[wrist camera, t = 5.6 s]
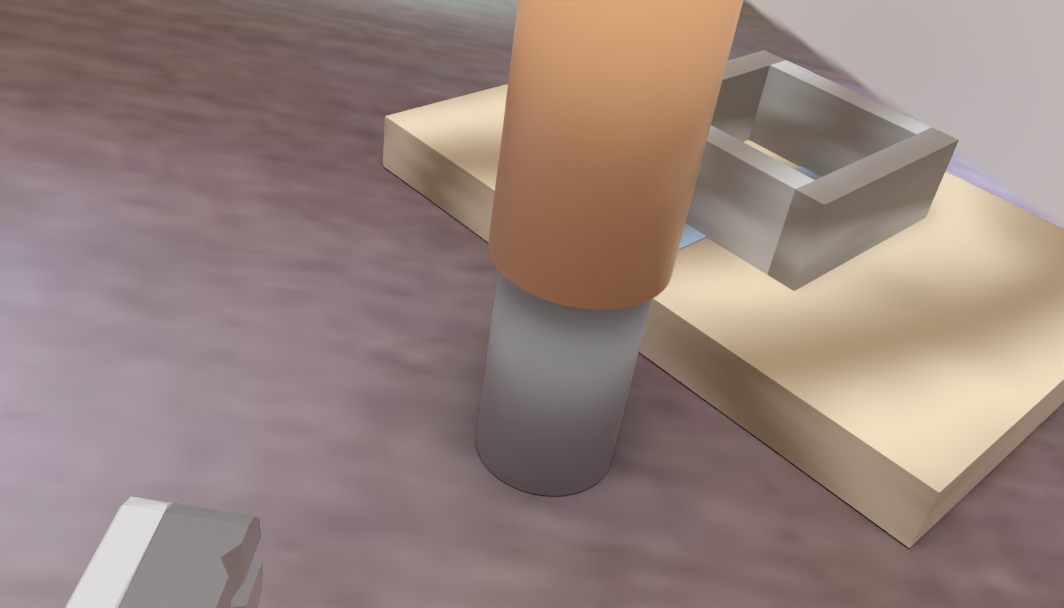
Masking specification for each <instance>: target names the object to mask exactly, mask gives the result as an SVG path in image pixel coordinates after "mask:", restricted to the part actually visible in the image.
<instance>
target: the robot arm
mask: <svg viewBox="0 0 1064 608" xmlns="http://www.w3.org/2000/svg"><path fill="white" fill-rule="evenodd" d="M260 538H261V531H260V520H259V518H257V517H253V516H247V515H241V514H235V513H229V512H224V511H218V510H212V509H206V508H200V507H194V506H188V505H183V504H177V503H170V502H163V501H157V500H151V499H144V498H138V497H130V498H129V499H128V500H127V501H126V502H125V503H124V504H123V505H122V506H121V507H120V508H119V510H118V512H117V514H116V515H115V517H114V519H113V521H112V523H111V525H110V526H109V528H108V530H107V532H106V534H105V536H104V537H103V539H102V541H101V543H100V545H99V547H98V548H97V550H96V552H95V554H94V556H93V558H92V559H91V561H90V563H89V565H88V567H87V569H86V570H85V572H84V574H83V576H82V578H81V580H80V581H79V583H78V585H77V587H76V589H75V591H74V592H73V594H72V596H71V598H70V600H69V602H68V603H67V605H66V607H65V608H258V604H259V599H260V595H261V587H262V576H263V571H262V561H261V560H260V559H259V557H258V556H257V555H256V554H255V552H256V549H257V546H258V543H259V541H260Z"/></svg>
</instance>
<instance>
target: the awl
mask: <svg viewBox="0 0 1064 608" xmlns="http://www.w3.org/2000/svg"><path fill="white" fill-rule="evenodd" d="M742 3H743V0H518V8H517V16H516V24H515V32H514V40H513V48H512V56H511V64H510V72H509V80H508V88H507V96H506V104H505V113H504V121H503V129H502V137H501V145H500V153H499V161H498V169H497V177H496V185H495V193H494V201H493V209H492V217H491V225H490V234H489V242H488V249H489V253H490V256H491V259H492V261H493V263H494V264H495V266H496V267H497V269H498V275H497V283H496V290H495V298H494V305H493V313H492V320H491V328H490V335H489V343H488V350H487V358H486V365H485V373H484V380H483V388H482V395H481V403H480V410H479V418H478V425H477V433H476V446H477V450H478V453H479V456H480V458H481V460H482V462H483V463H484V464H485V466H486V467H487V468H488V469H489V470H490V471H491V472H492V473H493V474H494V475H495V476H496V477H497V478H499V479H500V480H502V481H503V482H505V483H506V484H508V485H510V486H512V487H514V488H517V489H519V490H522V491H525V492H528V493H532V494H538V495H545V496H563V495H570V494H574V493H578V492H581V491H584V490H586V489H588V488H590V487H592V486H594V485H595V484H596V483H598V482H599V481H600V480H601V479H602V478H603V477H604V476H605V475H606V473H607V472H608V470H609V468H610V466H611V462H612V458H613V454H614V450H615V446H616V442H617V438H618V434H619V430H620V426H621V422H622V418H623V414H624V410H625V406H626V402H627V398H628V394H629V390H630V386H631V382H632V378H633V374H634V370H635V366H636V362H637V358H638V354H639V350H640V346H641V342H642V338H643V334H644V330H645V326H646V322H647V318H648V314H649V310H650V305H651V301H652V299H653V298H654V297H656V296H658V295H659V294H660V293H661V292H662V291H664V289H665V288H666V287H667V286H668V284H669V282H670V280H671V277H672V273H673V270H674V266H675V262H676V258H677V254H678V250H679V246H680V243H681V239H682V235H683V231H684V227H685V223H686V219H687V215H688V212H689V208H690V204H691V200H692V196H693V192H694V188H695V185H696V181H697V177H698V173H699V169H700V165H701V161H702V157H703V154H704V150H705V146H706V142H707V138H708V134H709V130H710V127H711V123H712V119H713V115H714V111H715V107H716V103H717V100H718V96H719V92H720V88H721V84H722V80H723V76H724V72H725V69H726V65H727V61H728V57H729V53H730V49H731V45H732V42H733V38H734V34H735V30H736V26H737V22H738V18H739V14H740V11H741V7H742Z"/></svg>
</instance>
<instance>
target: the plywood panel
mask: <svg viewBox="0 0 1064 608" xmlns="http://www.w3.org/2000/svg"><path fill="white" fill-rule="evenodd" d="M507 88H508V84H506V85H503V86H499V87H495V88H491V89H487V90H483V91H480V92H476V93H472V94H468V95H464V96H460V97H457V98H453V99H449V100H445V101H441V102H438V103H434V104H430V105H426V106H422V107H418V108H415V109H411V110H407V111H403V112H399V113H395V114H392V115H388V116H385V130H384V151H383V166H384V167H385V168H387V169H388V170H389V171H391V172H392V173H393V174H395V175H396V176H398V177H399V178H400V179H402V180H403V181H404V182H406V183H407V184H409V185H410V186H411V187H413V188H414V189H415V190H417V191H418V192H420V193H421V194H422V195H424V196H425V197H426V198H428V199H429V200H431V201H432V202H433V203H435V204H436V205H437V206H439V207H440V208H442V209H443V210H444V211H446V212H447V213H448V214H450V215H451V216H453V217H454V218H455V219H457V220H458V221H459V222H461V223H462V224H464V225H465V226H466V227H468V228H469V229H470V230H472V231H473V232H475V233H476V234H477V235H479V236H480V237H482V238H483V239H484V240H486V241H487V242H489V234H490V225H491V217H492V209H493V201H494V193H495V185H496V177H497V169H498V161H499V153H500V145H501V137H502V129H503V121H504V113H505V104H506V96H507ZM957 143H958V139H955V138H953V137H951V136H949V135H947V134H945V133H942V132H940V131H938V130H936V129H934V128H932V127H929V126H927V125H925V124H923V123H921V122H919V121H916V120H914V119H912V118H910V117H908V116H906V115H903V114H901V113H899V112H897V111H895V110H893V109H890V108H888V107H886V106H884V105H882V104H880V103H877V102H875V101H873V100H871V99H869V98H867V97H865V96H862V95H860V94H858V93H856V92H854V91H852V90H849V89H847V88H845V87H843V86H841V85H839V84H836V83H834V82H832V81H830V80H828V79H826V78H823V77H821V76H819V75H817V74H815V73H813V72H810V71H808V70H806V69H804V68H802V67H800V66H797V65H795V64H793V63H791V62H789V61H787V60H784V59H782V58H780V57H778V56H776V55H774V54H771V53H769V52H767V51H765V50H763V51H760V52H756V53H753V54H750V55H746V56H743V57H739V58H736V59H733V60H729V61H727V65H726V69H725V72H724V76H723V80H722V84H721V88H720V92H719V96H718V100H717V103H716V107H715V111H714V115H713V119H712V123H711V127H710V130H709V134H708V138H707V142H706V146H705V150H704V154H703V157H702V161H701V165H700V169H699V173H698V177H697V181H696V185H695V188H694V192H693V196H692V200H691V204H690V208H689V212H688V215H687V219H686V223H685V227H684V231H683V235H682V239H681V243H680V246H679V250H678V254H677V258H676V262H675V266H674V270H673V273H672V277H671V280H670V282H669V284H668V286H667V287H666V288H665V289H664V291H662V292H661V293H660V294H659V295H658V296H656V297H654V298H653V299H652V301H651V305H650V310H649V314H648V318H647V322H646V326H645V330H644V334H643V338H642V342H641V346H640V350H639V352H640V353H641V354H643V355H644V356H645V357H647V358H648V359H649V360H651V361H652V362H654V363H655V364H656V365H658V366H659V367H660V368H662V369H663V370H665V371H666V372H667V373H669V374H670V375H672V376H673V377H674V378H676V379H677V380H678V381H680V382H681V383H683V384H684V385H685V386H687V387H688V388H689V389H691V390H692V391H694V392H695V393H696V394H698V395H699V396H700V397H702V398H703V399H705V400H706V401H707V402H709V403H710V404H711V405H713V406H714V407H716V408H717V409H718V410H720V411H721V412H722V413H724V414H725V415H727V416H728V417H729V418H731V419H732V420H733V421H735V422H736V423H738V424H739V425H740V426H742V427H743V428H744V429H746V430H747V431H749V432H750V433H751V434H753V435H754V436H755V437H757V438H758V439H760V440H761V441H762V442H764V443H765V444H767V445H768V446H769V447H771V448H772V449H773V450H775V451H776V452H778V453H779V454H780V455H782V456H783V457H784V458H786V459H787V460H789V461H790V462H791V463H793V464H794V465H795V466H797V467H798V468H800V469H801V470H802V471H804V472H805V473H806V474H808V475H809V476H811V477H812V478H813V479H815V480H816V481H817V482H819V483H820V484H822V485H823V486H824V487H826V488H827V489H828V490H830V491H831V492H833V493H834V494H835V495H837V496H838V497H839V498H841V499H842V500H844V501H845V502H846V503H848V504H849V505H850V506H852V507H853V508H855V509H856V510H857V511H859V512H860V513H861V514H863V515H864V516H866V517H867V518H868V519H870V520H871V521H873V522H874V523H875V524H877V525H878V526H879V527H881V528H882V529H884V530H885V531H886V532H888V533H889V534H890V535H892V536H893V537H895V538H896V539H897V540H899V541H900V542H901V543H903V544H904V545H906V546H907V547H908V548H910V547H911V546H913V545H914V544H915V543H916V542H917V541H918V540H919V539H920V538H921V537H922V536H923V535H924V534H925V533H926V532H927V531H928V530H929V529H930V528H932V527H933V526H934V525H935V524H936V523H937V522H938V521H939V520H940V519H941V518H942V517H943V516H944V515H945V514H946V513H947V512H948V511H949V510H951V509H952V508H953V507H954V506H955V505H956V504H957V503H958V502H959V501H960V500H961V499H962V498H963V497H964V496H965V495H966V494H967V493H969V492H970V491H971V490H972V489H973V488H974V487H975V486H976V485H977V484H978V483H979V482H980V481H981V480H982V479H983V478H984V477H985V476H986V475H988V474H989V473H990V472H991V471H992V470H993V469H994V468H995V467H996V466H997V465H998V464H999V463H1000V462H1001V461H1002V460H1003V459H1004V458H1005V457H1007V456H1008V455H1009V454H1010V453H1011V452H1012V451H1013V450H1014V449H1015V448H1016V447H1017V446H1018V445H1019V444H1020V443H1021V442H1022V441H1023V440H1024V439H1026V438H1027V437H1028V436H1029V435H1030V434H1031V433H1032V432H1033V431H1034V430H1035V429H1036V428H1037V427H1038V426H1039V425H1040V424H1041V423H1042V422H1044V421H1045V420H1046V419H1047V418H1048V417H1049V416H1050V415H1051V414H1052V413H1053V412H1054V411H1055V410H1056V409H1057V408H1058V407H1059V406H1060V405H1061V404H1063V403H1064V229H1062V228H1060V227H1058V226H1056V225H1054V224H1052V223H1050V222H1048V221H1046V220H1044V219H1042V218H1040V217H1038V216H1036V215H1034V214H1031V213H1029V212H1027V211H1025V210H1023V209H1021V208H1019V207H1017V206H1015V205H1013V204H1011V203H1009V202H1007V201H1005V200H1003V199H1001V198H998V197H996V196H994V195H992V194H990V193H988V192H986V191H984V190H982V189H980V188H978V187H976V186H974V185H972V184H970V183H968V182H965V181H963V180H961V179H959V178H957V177H955V176H953V175H951V174H949V173H947V172H945V171H946V169H947V166H948V164H949V162H950V159H951V157H952V155H953V152H954V150H955V147H956V145H957Z"/></svg>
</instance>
